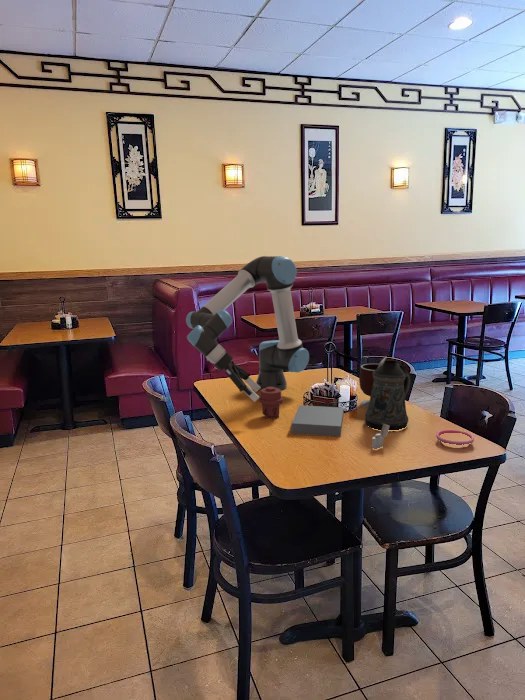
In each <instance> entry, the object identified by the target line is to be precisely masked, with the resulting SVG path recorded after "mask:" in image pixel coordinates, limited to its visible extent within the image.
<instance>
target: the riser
mask: <svg viewBox="0 0 525 700" xmlns="http://www.w3.org/2000/svg"><path fill="white" fill-rule="evenodd" d="M344 408H345V407H341V406H340V407H339V406H338V407H337V406H318V405H302V404H301V405H300V404H299V405H298V408H297V410H296V412H295V414H294V416H293V420H292V422H291V434H293V435H294V434H295V435H306V436H307V435H308V436H321V437H323V436H326V437H338V436H339V437H340V438H341V436H342V428H343V422H344V413H345V412H344Z"/></svg>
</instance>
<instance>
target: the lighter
mask: <svg viewBox="0 0 525 700" xmlns="http://www.w3.org/2000/svg"><path fill="white" fill-rule="evenodd" d="M389 427H390V426H389V425H386V424H383V427H382V430H381V432H379V433H376V434H374V435H375V436H373V437H371V449H372V448H374V449H377V448H380V447H382V446H383V447H384V437H385V438H386V437H387V435H388V433H389V432H388V430H389Z"/></svg>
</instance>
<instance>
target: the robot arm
mask: <svg viewBox="0 0 525 700" xmlns="http://www.w3.org/2000/svg"><path fill="white" fill-rule="evenodd" d="M297 273H298V272H297V267H296V264H295V262H294V261H293V259H291V258H289V257H286V256H281V255H280V256H278V255H277V256H274V255H271V256H267V255H264V256H263V255H262V256H259V257H256V258H254V259H252V260H251V261H249V262H248V263H247V264H245V265H244V266H243V267H241V269H239V270H238V273H237V275H236V276H235V277H234V278H233V279H232V280H231V281H230V282H228V283H227V284H226V285H225V286H224V287H223V288H222V289H220V291H218V292H217V293H216V294H215V295H213V297H211V299H209V300H208V301H207V302H206V303H205V304H204V305H202V307H200V308H199V309H198V310H197V311H196V310H194V311H190V312H188V314H187V315H186V316H185V317H186V318H185V322H186V325H187V327H188V328H190V329H192V330H191V331H190V332H189V333H188V334H187V335H186V339H187V341H188V342H189V343H190V344H191V345H192V346H193V347H194V348H195V349H197V351H198V352H200V353H201V354H202V355H203V356H204V357H205V358H206V361H207V362H210V363H211V364H213V365H214V366H213V367H215V368H216V369H217V370H218V371H219V372H221V371H223V370H225V371H224V374H225V375H226V376H227V377H228V378H229V379H230V380H231V381H232V382H233V383H232V384H234V385H235V386H236V387H237V388H238V390H239V392H240V393H242V392H243V393H244V394H245V395H246V396H247V397H249V398H250V400H251V401H253V402H254V403H255V402H257V401H258V400H259V397H260V395H258V394H257V392H258V391H261V389H264V388H266V387H275V388H278V389H280V390H281V391H282V390H283V391H284V390H285V389H287V379H286V377H285V374H284V371H288V372H290V373H300V372H303V371H304V370H305V369H306V368H307V366H308V364H309V361H310V354H309V353H310V352H309V351H308V350H307V348H304V347H303V341H302V340H301V339H299V336H298V332H297V324H296V317H295V311H294V304H293V298H292V292H291V289H292V287H293V286H294V282H295V281H296V277H297ZM260 283H261V284H262V283H264V284H265V283H266V289H267V291H269V292H270V293H271V298H272V303H273V304H272V305H273V310H274V315H275V316H274V317H275V322H276V327H277V328H276V329H277V334H278V340H277V339H276V340H275V339H274V340H273V339H272V340H266V341H262V342H261V343H260V342H259V347H258V349H259V350H258V358H259V359H258V362H259V363H258V365H259V371H258V376H257V379H256V381H255V380H253V378H252V377H250V376H251V374H250V373H249V372H247V371H246V370H244V368H242V367H240V366H239V365H237V364H236V363H235V362H234V361H233V359H234V358H233V356H232V355H231V354H230V353H229V352H228V351H226V349H225V348H224V347H223V346H222V345H221V344H220V343H219V342H218V341H217V339H219V337H220V336H221V335H223V334H224V333H225V332H226V331H227V330H228V329H229V327H230V326H231V325H232V323H233V318H232V316H231V314H230V313H229V312H228V311H227V310H226V309H227V308H228V307H230V306H231V305H232V304H234V302H235V301H236V300H238V299H239V297H241V296H242V295H243V294H244V293H245V292H246V291H247V290H249V289H250V288H254V287H255V286H256V285H258V284H260Z"/></svg>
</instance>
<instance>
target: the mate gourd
mask: <svg viewBox="0 0 525 700" xmlns="http://www.w3.org/2000/svg"><path fill="white" fill-rule="evenodd" d="M385 361H387V356H385V357H384V358H383V359H382V360H381V361H380V362H379V363H366V364H362V365H360V371H359V377H358V380H359V387H360V390H361V391H362V393H363V394H364V395H365V396H368V397H369V398H370V397H371V392H372V387H373V383H374V378H373V374H372V373H373V372H374V371H375V370H376V369H377V368H379V367H380V366H382V365H383V364H384V362H385ZM369 401H370V399H366V400H365V399H364V400H362V401H361V402H360V404H361V405H360V407H362V406H363V407H362V408H364V407H366V408H365V409H367V408H368V405H369Z"/></svg>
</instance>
